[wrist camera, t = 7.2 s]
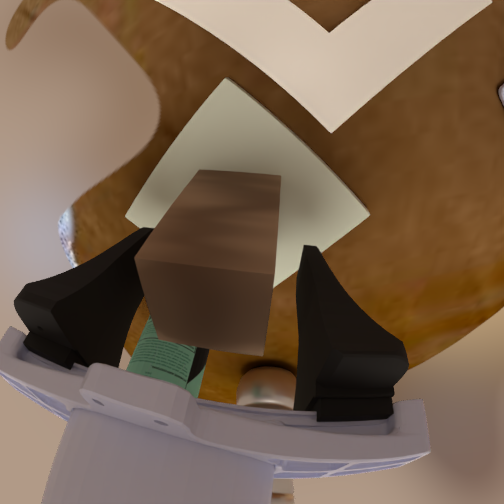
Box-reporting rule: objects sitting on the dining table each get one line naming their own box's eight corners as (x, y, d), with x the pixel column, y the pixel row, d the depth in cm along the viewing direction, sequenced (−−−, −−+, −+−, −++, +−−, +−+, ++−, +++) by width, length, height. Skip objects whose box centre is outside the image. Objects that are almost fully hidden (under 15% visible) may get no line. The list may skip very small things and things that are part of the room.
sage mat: (367, 208, 16) (370, 215, 15) (249, 297, 22) (248, 305, 21) (228, 77, 12) (225, 77, 12) (130, 210, 18) (124, 216, 17)
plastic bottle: (227, 366, 28) (194, 541, 13) (281, 352, 26) (260, 558, 10) (261, 390, 31) (241, 542, 15) (311, 378, 28) (302, 549, 12)
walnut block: (281, 175, 15) (274, 274, 8) (273, 244, 17) (263, 356, 11) (199, 169, 15) (134, 257, 8) (202, 236, 18) (158, 339, 11)
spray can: (153, 316, 25) (82, 516, 9) (162, 279, 21) (69, 527, 6) (207, 337, 26) (157, 542, 10) (226, 304, 22) (169, 561, 6)
